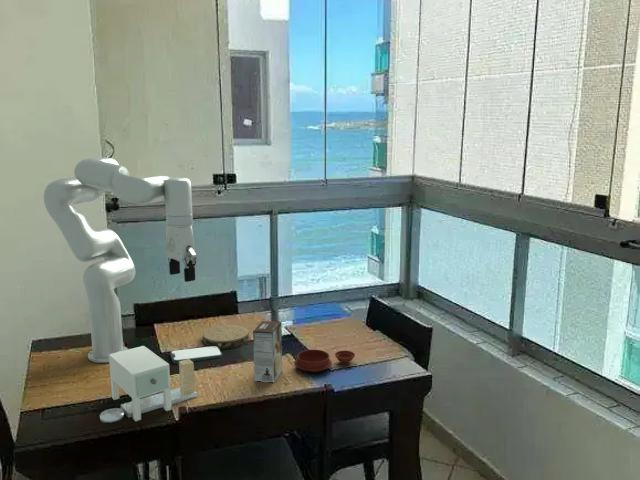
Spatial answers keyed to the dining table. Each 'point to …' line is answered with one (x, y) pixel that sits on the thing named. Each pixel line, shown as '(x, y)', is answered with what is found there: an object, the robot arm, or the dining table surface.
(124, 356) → the low cabinet
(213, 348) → the phone case
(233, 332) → the tan round flat disc
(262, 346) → the coffee box
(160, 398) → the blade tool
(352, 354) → the pottery
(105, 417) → the steel disc
